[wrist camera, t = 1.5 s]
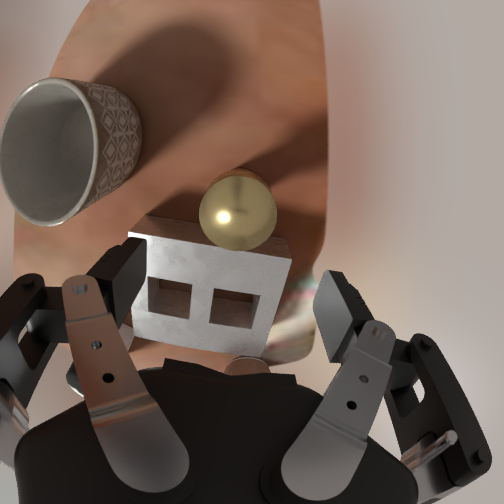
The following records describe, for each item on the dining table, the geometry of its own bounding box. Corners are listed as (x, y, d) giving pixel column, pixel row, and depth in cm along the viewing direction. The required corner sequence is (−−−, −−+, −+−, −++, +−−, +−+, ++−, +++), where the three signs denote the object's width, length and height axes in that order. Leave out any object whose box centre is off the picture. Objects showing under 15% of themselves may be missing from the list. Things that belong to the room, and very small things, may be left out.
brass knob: (219, 155, 26) (204, 171, 17) (271, 164, 27) (285, 185, 18) (210, 204, 28) (194, 244, 19) (260, 213, 29) (267, 256, 20)
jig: (145, 214, 29) (128, 231, 24) (285, 238, 30) (292, 259, 26) (144, 311, 35) (134, 335, 30) (259, 330, 36) (260, 357, 32)
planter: (168, 116, 24) (127, 114, 15) (114, 213, 28) (67, 253, 19) (86, 71, 21) (28, 61, 11) (44, 163, 25) (-13, 185, 16)
